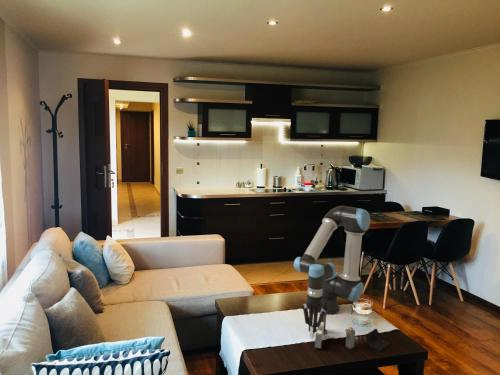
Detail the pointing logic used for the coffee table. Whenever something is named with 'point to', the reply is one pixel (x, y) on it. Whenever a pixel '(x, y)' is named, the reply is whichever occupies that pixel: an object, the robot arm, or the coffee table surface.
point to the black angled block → (376, 340)
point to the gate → (319, 335)
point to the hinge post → (324, 324)
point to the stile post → (350, 337)
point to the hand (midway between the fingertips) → (311, 337)
